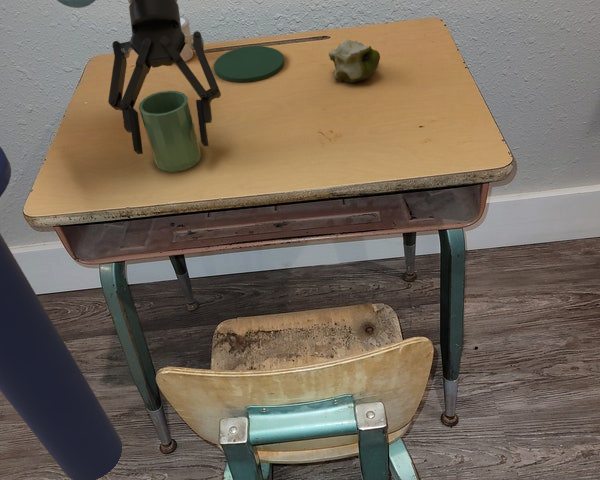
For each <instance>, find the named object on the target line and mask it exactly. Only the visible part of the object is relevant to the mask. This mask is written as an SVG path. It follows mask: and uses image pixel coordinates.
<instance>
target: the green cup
mask: <svg viewBox="0 0 600 480" xmlns="http://www.w3.org/2000/svg"><path fill="white" fill-rule="evenodd" d="M189 102H190V101H189V98H188V96H187V95H186V93H184V92H181V91H178V90H164V91H163V90H161V91H158V92H155V93H152V94H150V95H148V96H146V97H145V98H143V99H142V100H141V101H140V102H139V105H138V110H139V113H140V116H141V120H142V124H143V127H144V130H145V133H146V136H147V139H148V143H149V146H150V150H151V153H152V156H153V159H154V162H155V165H156V166H157V168H158V169H159V170H161V171H164V172H168V173H175V172H176V173H177V172H182V171H186V170H189V169H191V168H192V167H194V166H195V165H197V164H198V163H199V162H200V160H201V156H202V154H201V148H200V144H199V140H198V135H197V130H196V126H195V123H194V118H193V113H192V110H191V106H190V103H189Z"/></svg>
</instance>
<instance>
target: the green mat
mask: <svg viewBox="0 0 600 480" xmlns="http://www.w3.org/2000/svg"><path fill="white" fill-rule="evenodd" d="M284 65H285V57H284V55H283V53H282V52H281V51H280V50H278V49H276V48H273V47H268V46H262V45H253V46H252V45H251V46H243V47H239V48H235V49H232V50H229V51H227V52H225V53H223V54H221V55H220V56H219V57H217V59H216V60H215V61H214V64H213V70H214V73H215V74H216V76H217V77H219V78H220V79H222V80H225V81H227V82H233V83H252V82H257V81H261V80H264V79H267V78H270V77H273V76H274V75H276V74H277V73H279V72H280V71H281V70H282V69H283V67H284Z"/></svg>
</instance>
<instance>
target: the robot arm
mask: <svg viewBox="0 0 600 480" xmlns="http://www.w3.org/2000/svg"><path fill="white" fill-rule="evenodd" d="M56 1H57V2H58V3H60V4H61V5H63V6H66V7H69V8H73V9H81V8H86V7H88V6H91V5H92V4H93V3H95V2H96V1H97V0H56ZM127 1H128V4H129V5H128V10H129V18H130V26H131V27H130V28H131V37H130V39H129V41H123V42H120V41H119V40H114V41H113V42H112V44H111V45H112V46H111V47H112V50H113V55H114V59H113V66H112V72H111V78H110V86H109V92H108V93H109V94H108V100H107V101H108V102H107V103H108V105H109V106H111V108H113V109H114V110H115V111H121V115H122V122H123V128H124V130H125V131H126V132H127V133H128V134H129V133H131V141H132V149H133V151H134V152H135V153H136V154H137V155H143V154H144V151H143V144H142V143H143V142H142V133H141V127H140V118H139V112H138V110H136V109H135V108H134V107H135V105H136V103H137V100H138V97H139V95H140V93H141V90H142V88H143V85H144V82H145V80H146V78H147V76H148V74H150V70H151V68H160V67H162V66H165V67H169V66H170V67H171V66H173V64H175V66H177V68H178V70H179V71H180V72H181V74H182V75H183V76H184V78H185V79H186V80H187V82H188V83H189V84H190V86H191V87H192V89H193V90H194V91H195V93H196V94H197V96H198V97H199V99H195V104H196V112H197V113H196V114H197V121H198V129H199V137H200V143H201V145H202V146H203V147H209V139H208V131H207V124H211V123H213V122H212V121H213V114H212V107H211V103H212V102H213V100H215V99H219V98H221V96H222V93H221V90H220V88H219V85H218V83H217V80H216V78H215V75H214V73H213V70H212V68H211V66H210V63H209V61H208V59H207V55H206V54H205V44H204V39H203V37H202V33H201V32H200V31H197V30H196V31H194V32H193V34H191V33H190V34H191V35H184V33H183V32H182V30H181V22H180V17H181V16H180V8H179V4H178V0H127ZM185 44H189V46H190V48H191V49H192V50H193V51H194V52H195V54H196V57H197V59H198V62H199V65H200V67H201V69H202V71H203V74H204V76H205V79H206V81H207V83H208V86H209V88H208V89H206V88H204V86H203V85H202V83H201V82H200V81H199V80H198V77H196V75H195V74H194V72H193V71H192V70H191V69H190V67H189V66H188V64H187V63H186V61H184V60H183V59H182V57H181V56H180V53H181V52H182V50H183V48H184V46H185ZM132 51H134V53H136V55H137V57H136V60H135V66H134V68H133V72H132V74H131V76H130V79H129V81H128V84H127V86H126V89H125V91H124V87H125V81H126V74H127V73H126V72H127V66H128V65H127V64H128V63H127V59H128V58H129V57H130V54H131V52H132Z"/></svg>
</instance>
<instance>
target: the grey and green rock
mask: <svg viewBox="0 0 600 480" xmlns="http://www.w3.org/2000/svg"><path fill="white" fill-rule="evenodd" d="M328 57H329V60H330V61H332V62H333V65H334V69H335V70H334V73H333V78H334V79H335V80H338V81H340V82H343V83H347V84H350V83H357V82H360V81H364V80H366V79H368V78H369V77H371V76H372V75H373V74H374V72H375V71H376V70H377V68H378V66H379V64H380V59H381V54H380V52H379V50H377V49H373V48H372V46H371V45H368V46H365V45H364V44H363V42H358V41H357V40H351V39H345V40H344V41H343V42H341V43H339V44H338V45H337V48H336V49H331V50H330V51H329V52H328Z"/></svg>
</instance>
